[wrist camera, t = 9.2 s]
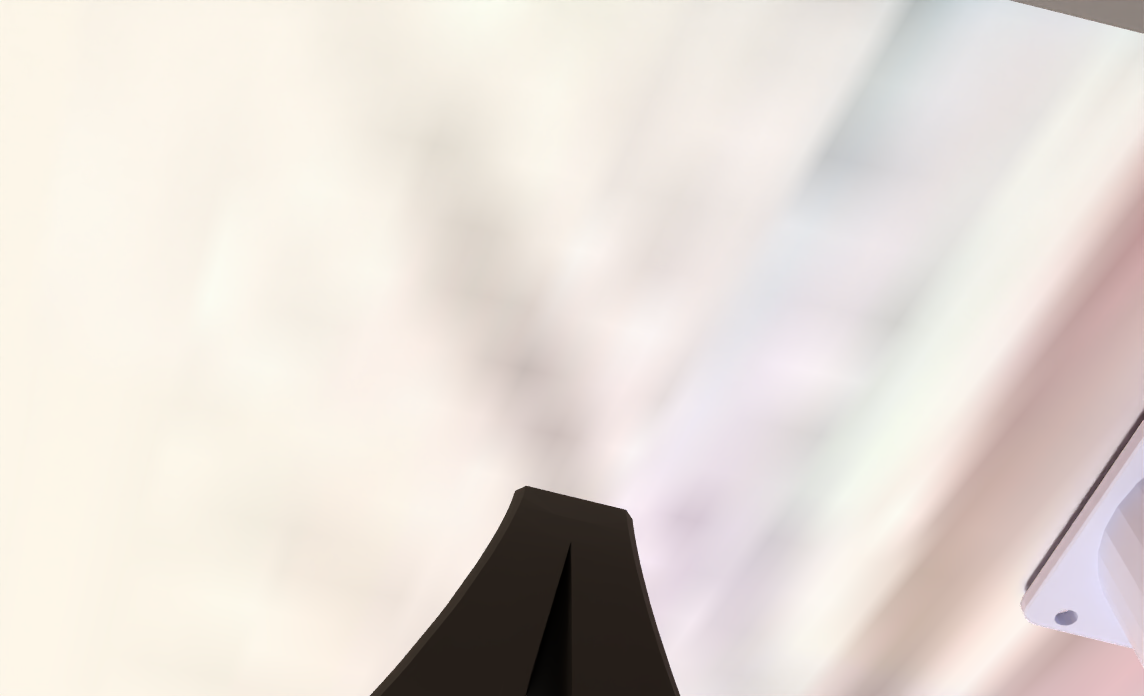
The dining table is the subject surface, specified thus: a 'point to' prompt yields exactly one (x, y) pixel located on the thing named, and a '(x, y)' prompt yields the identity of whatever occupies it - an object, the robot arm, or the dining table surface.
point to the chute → (1098, 11)
